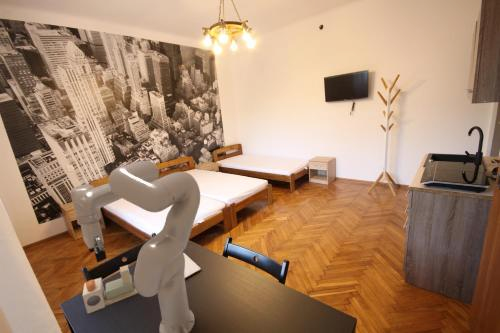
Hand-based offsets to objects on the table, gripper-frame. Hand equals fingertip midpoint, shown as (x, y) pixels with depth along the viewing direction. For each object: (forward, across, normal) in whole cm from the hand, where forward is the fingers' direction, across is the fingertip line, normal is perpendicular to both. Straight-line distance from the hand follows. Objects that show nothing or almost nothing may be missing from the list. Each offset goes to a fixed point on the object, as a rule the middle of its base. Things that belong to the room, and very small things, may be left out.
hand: (98, 255), depth 92 cm
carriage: (+21, 0, +5) cm, 22 cm away
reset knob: (+13, -1, -4) cm, 14 cm away
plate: (+23, +6, +28) cm, 37 cm away
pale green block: (+23, +1, +8) cm, 24 cm away
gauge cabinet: (+23, -3, -4) cm, 23 cm away
